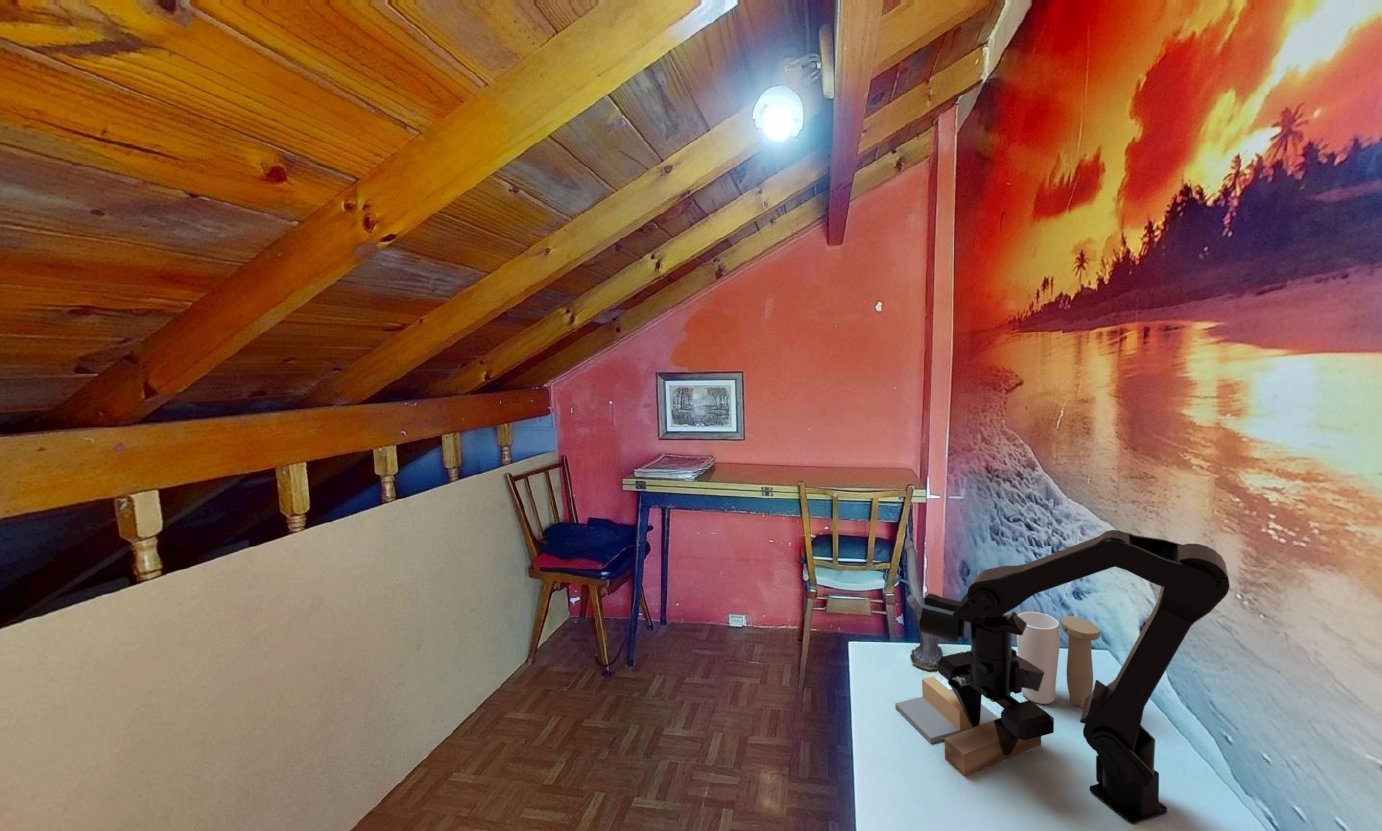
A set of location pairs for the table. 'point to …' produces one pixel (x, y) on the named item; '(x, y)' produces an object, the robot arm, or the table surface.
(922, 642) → the antler
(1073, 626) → the handle
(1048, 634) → the drinking glass
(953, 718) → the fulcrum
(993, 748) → the batten
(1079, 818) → the table surface
